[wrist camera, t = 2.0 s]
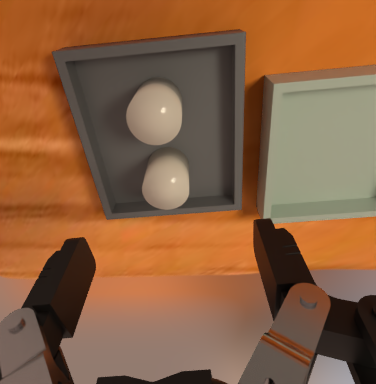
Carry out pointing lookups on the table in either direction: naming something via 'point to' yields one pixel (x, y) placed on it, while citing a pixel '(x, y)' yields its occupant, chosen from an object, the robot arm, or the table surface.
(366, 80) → the shallow green tray
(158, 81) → the pebble
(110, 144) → the parts tray
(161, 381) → the robot arm
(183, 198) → the pebble
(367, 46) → the table surface
